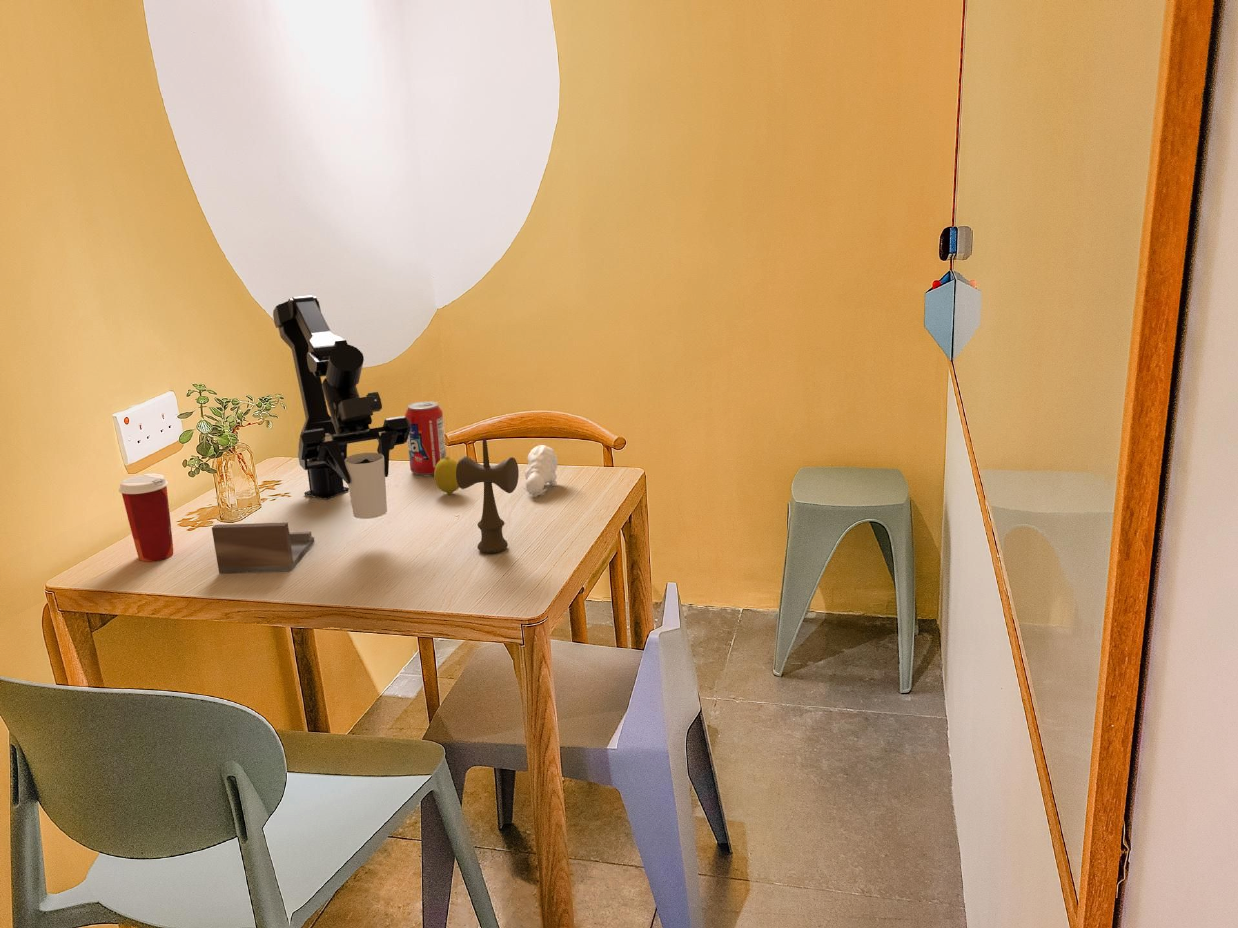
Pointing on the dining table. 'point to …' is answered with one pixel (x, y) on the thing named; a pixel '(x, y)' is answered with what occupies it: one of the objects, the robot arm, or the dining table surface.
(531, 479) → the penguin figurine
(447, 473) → the lemon
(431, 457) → the soda can
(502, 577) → the dining table surface
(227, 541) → the holder
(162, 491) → the paper cup
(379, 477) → the white cup
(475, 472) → the kendama
